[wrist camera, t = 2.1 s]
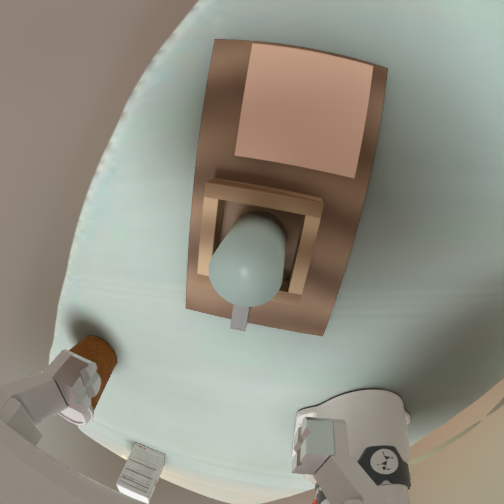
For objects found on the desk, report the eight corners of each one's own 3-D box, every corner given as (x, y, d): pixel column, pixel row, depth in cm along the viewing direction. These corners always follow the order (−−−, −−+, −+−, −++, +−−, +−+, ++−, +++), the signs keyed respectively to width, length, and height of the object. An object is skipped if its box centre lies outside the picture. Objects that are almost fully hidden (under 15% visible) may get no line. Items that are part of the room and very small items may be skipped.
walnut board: (322, 330, 30) (324, 351, 27) (188, 303, 31) (177, 321, 28) (384, 70, 19) (397, 61, 16) (217, 42, 21) (206, 30, 17)
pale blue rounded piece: (274, 294, 28) (267, 344, 21) (225, 284, 28) (203, 330, 22) (291, 216, 25) (289, 247, 18) (235, 206, 25) (211, 233, 18)
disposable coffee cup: (128, 381, 39) (94, 436, 28) (81, 359, 40) (43, 406, 29) (124, 340, 36) (80, 401, 25) (72, 316, 36) (24, 365, 25)
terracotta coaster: (352, 177, 23) (354, 178, 22) (236, 154, 24) (234, 155, 23) (371, 68, 19) (373, 66, 18) (253, 46, 20) (252, 43, 19)
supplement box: (164, 464, 52) (149, 504, 40) (136, 452, 52) (118, 491, 40) (166, 454, 49) (148, 498, 37) (135, 441, 49) (114, 484, 37)
